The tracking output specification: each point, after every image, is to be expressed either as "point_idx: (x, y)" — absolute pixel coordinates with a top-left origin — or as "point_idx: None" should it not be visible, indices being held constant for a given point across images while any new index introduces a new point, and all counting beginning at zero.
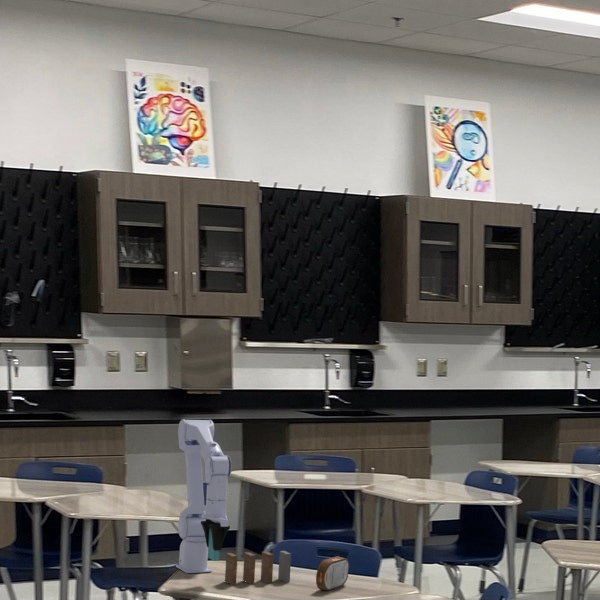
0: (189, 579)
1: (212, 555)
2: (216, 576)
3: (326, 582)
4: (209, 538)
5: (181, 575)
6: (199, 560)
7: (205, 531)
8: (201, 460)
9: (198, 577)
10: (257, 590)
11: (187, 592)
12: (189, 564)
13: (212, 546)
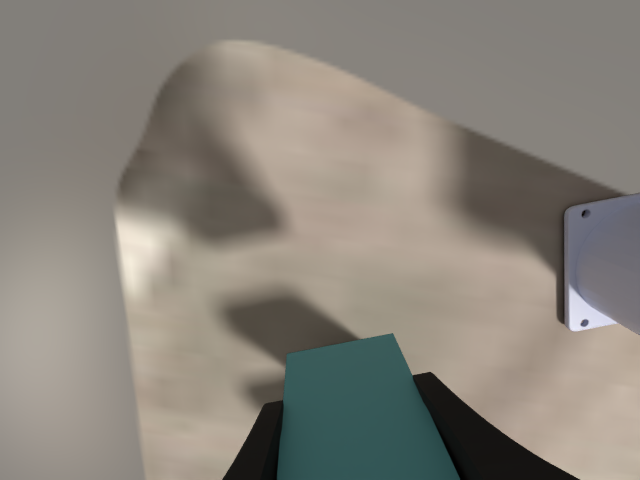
0: (441, 203)
1: (311, 367)
2: (486, 334)
3: None
4: (421, 443)
5: (534, 177)
6: (618, 293)
7: (481, 471)
8: None
9: (478, 253)
10: (213, 446)
11: (152, 147)
12: (620, 234)
13: (321, 413)
